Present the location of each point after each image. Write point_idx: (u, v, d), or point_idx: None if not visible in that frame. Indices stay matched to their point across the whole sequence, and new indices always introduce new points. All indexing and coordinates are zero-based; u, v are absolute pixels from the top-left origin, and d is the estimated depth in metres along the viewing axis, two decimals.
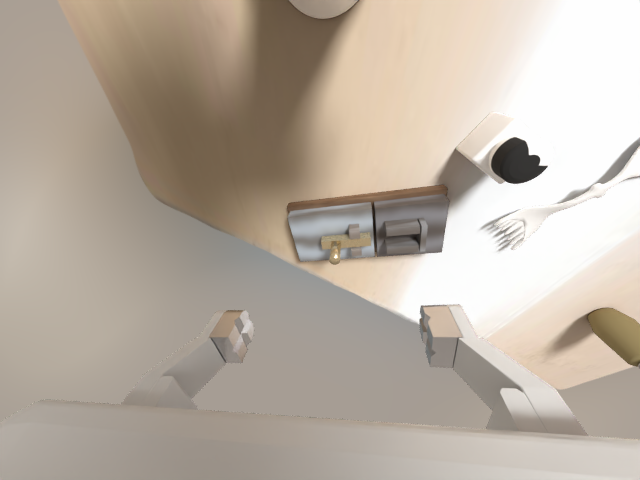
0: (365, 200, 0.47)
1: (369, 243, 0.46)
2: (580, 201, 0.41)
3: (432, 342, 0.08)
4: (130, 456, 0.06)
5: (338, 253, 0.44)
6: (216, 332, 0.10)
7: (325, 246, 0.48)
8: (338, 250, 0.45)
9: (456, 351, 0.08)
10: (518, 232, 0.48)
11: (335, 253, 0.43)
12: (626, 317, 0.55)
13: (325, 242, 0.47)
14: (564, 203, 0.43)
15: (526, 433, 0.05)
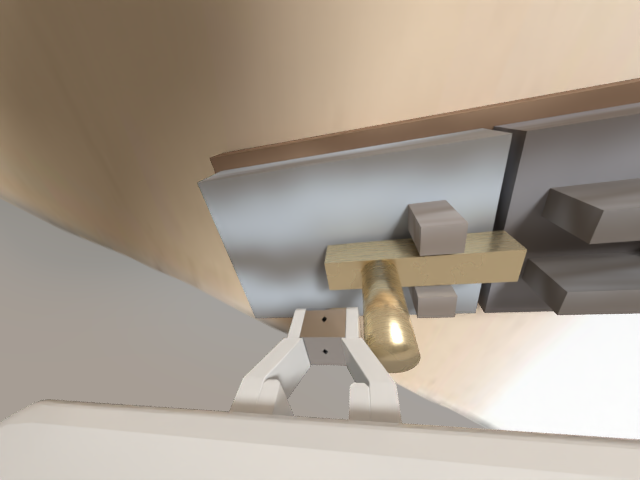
0: (463, 121, 0.14)
1: (514, 272, 0.12)
2: None
3: (322, 342, 0.09)
4: (130, 456, 0.06)
5: (406, 318, 0.09)
6: (306, 331, 0.09)
7: (340, 280, 0.14)
8: (401, 302, 0.10)
9: (343, 350, 0.09)
10: None
11: (393, 323, 0.09)
12: None
13: (339, 264, 0.13)
14: None
15: (526, 433, 0.05)
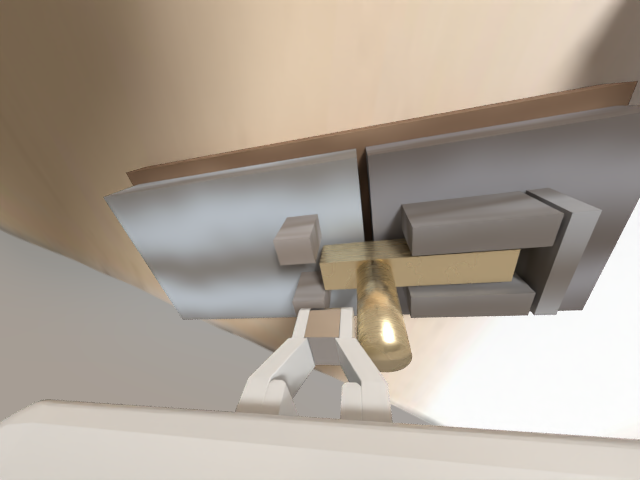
0: (338, 142, 0.15)
1: (507, 272, 0.12)
2: None
3: (316, 342, 0.09)
4: (130, 456, 0.06)
5: (399, 318, 0.09)
6: (311, 332, 0.09)
7: (335, 280, 0.14)
8: (395, 302, 0.10)
9: (338, 350, 0.09)
10: None
11: (385, 322, 0.09)
12: None
13: (334, 264, 0.13)
14: None
15: (526, 433, 0.05)
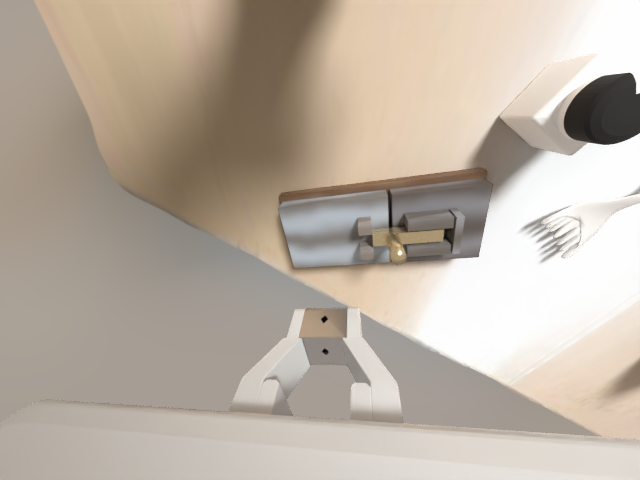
0: (378, 187, 0.37)
1: (441, 237, 0.34)
2: None
3: (323, 342, 0.09)
4: (130, 456, 0.06)
5: (403, 248, 0.31)
6: (306, 331, 0.09)
7: (377, 242, 0.35)
8: (401, 245, 0.32)
9: (345, 350, 0.09)
10: (572, 235, 0.37)
11: (399, 248, 0.31)
12: None
13: (378, 235, 0.35)
14: (639, 195, 0.32)
15: (526, 433, 0.05)
